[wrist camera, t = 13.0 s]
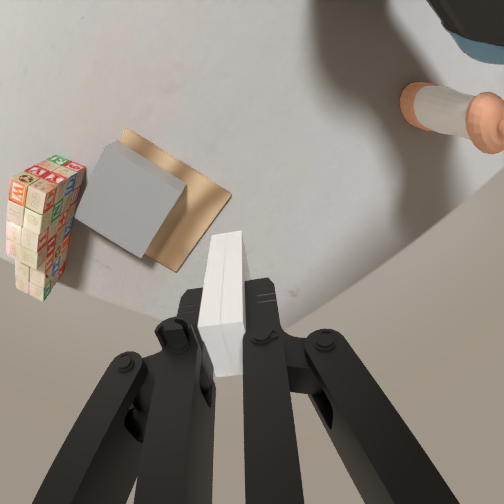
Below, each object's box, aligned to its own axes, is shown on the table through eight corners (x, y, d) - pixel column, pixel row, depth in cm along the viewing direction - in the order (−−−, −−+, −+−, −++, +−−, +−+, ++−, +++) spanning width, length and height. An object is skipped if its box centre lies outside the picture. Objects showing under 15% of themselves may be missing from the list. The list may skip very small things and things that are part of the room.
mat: (231, 193, 45) (231, 195, 45) (176, 270, 51) (176, 272, 51) (127, 128, 39) (125, 128, 39) (84, 214, 46) (83, 216, 45)
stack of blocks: (65, 272, 51) (35, 314, 40) (38, 259, 49) (6, 298, 39) (87, 166, 42) (45, 194, 31) (55, 153, 40) (9, 177, 30)
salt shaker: (445, 110, 39) (532, 137, 22) (416, 136, 41) (499, 175, 24) (421, 72, 36) (510, 81, 19) (390, 99, 38) (473, 118, 22)
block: (181, 192, 40) (105, 146, 36) (141, 258, 44) (73, 217, 40) (186, 182, 43) (117, 139, 40) (148, 244, 48) (86, 205, 44)
